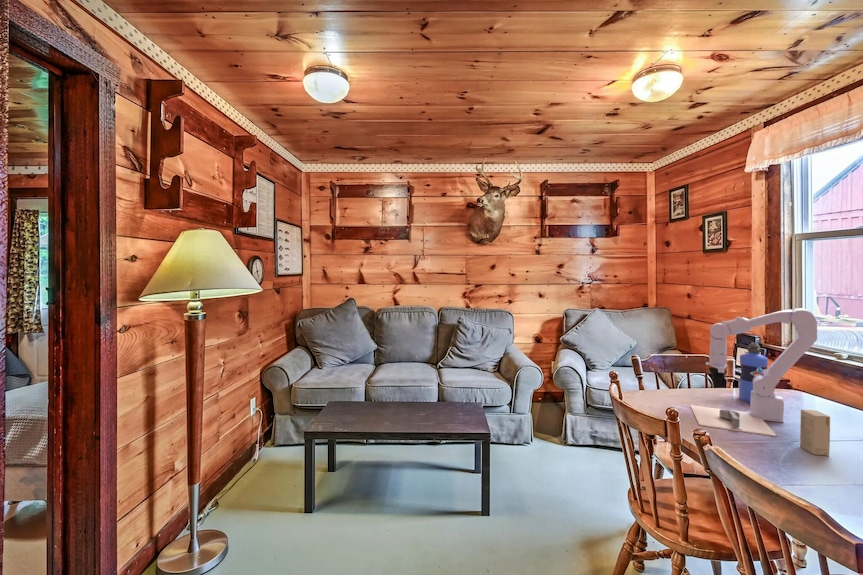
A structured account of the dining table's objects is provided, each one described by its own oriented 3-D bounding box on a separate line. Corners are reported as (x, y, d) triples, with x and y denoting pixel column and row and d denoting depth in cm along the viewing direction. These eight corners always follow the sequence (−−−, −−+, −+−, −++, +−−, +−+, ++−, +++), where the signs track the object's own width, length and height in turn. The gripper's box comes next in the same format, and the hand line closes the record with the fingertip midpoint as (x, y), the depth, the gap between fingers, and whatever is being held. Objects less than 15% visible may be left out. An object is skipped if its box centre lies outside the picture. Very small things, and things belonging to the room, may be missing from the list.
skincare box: (830, 456, 120) (832, 417, 120) (813, 455, 121) (815, 416, 120) (814, 446, 127) (816, 409, 126) (798, 445, 127) (800, 408, 127)
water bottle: (772, 404, 166) (774, 345, 164) (749, 404, 166) (752, 345, 164) (754, 396, 175) (756, 341, 174) (733, 396, 175) (735, 341, 174)
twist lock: (717, 414, 153) (718, 405, 153) (736, 416, 150) (737, 408, 150) (726, 426, 141) (726, 417, 141) (747, 429, 138) (747, 420, 138)
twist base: (757, 414, 154) (757, 413, 154) (776, 436, 134) (776, 435, 134) (690, 406, 163) (690, 404, 163) (699, 425, 144) (699, 423, 144)
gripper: (703, 348, 167) (702, 380, 168) (709, 355, 154) (708, 389, 155) (723, 350, 164) (722, 382, 165) (731, 357, 151) (730, 392, 152)
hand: (716, 386), depth 160 cm, fingers closed
